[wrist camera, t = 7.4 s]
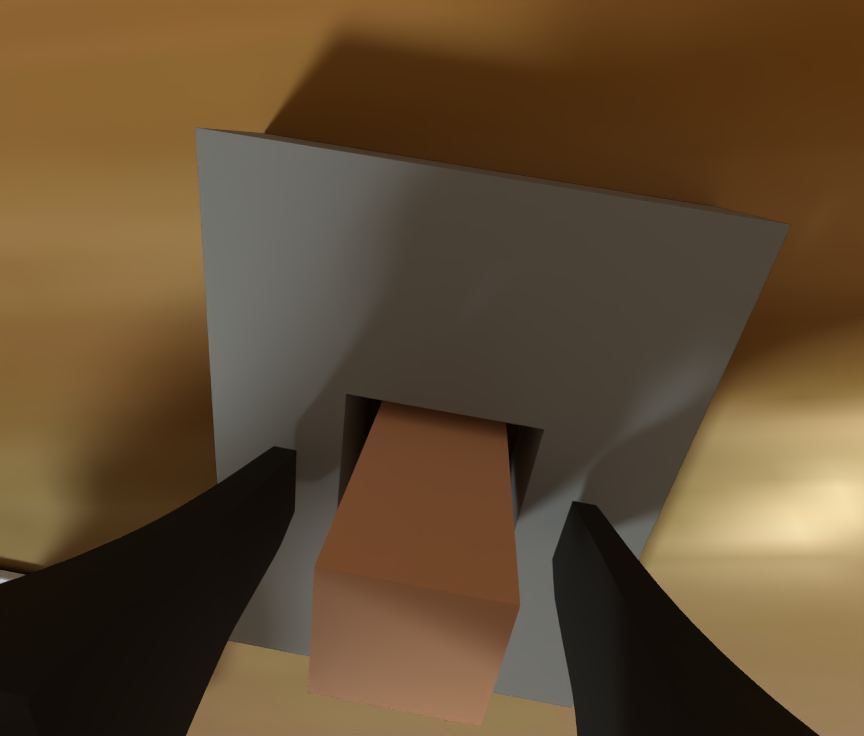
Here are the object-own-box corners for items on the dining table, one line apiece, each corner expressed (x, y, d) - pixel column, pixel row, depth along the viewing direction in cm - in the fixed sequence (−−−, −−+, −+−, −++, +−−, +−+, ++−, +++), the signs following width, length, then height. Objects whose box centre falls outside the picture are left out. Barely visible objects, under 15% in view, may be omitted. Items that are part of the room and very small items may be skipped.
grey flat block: (557, 622, 19) (571, 707, 16) (265, 566, 19) (226, 640, 16) (718, 207, 12) (791, 225, 9) (262, 133, 12) (195, 127, 10)
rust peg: (482, 471, 16) (481, 726, 9) (385, 454, 16) (307, 692, 9) (502, 384, 15) (520, 605, 8) (396, 366, 15) (314, 566, 8)
